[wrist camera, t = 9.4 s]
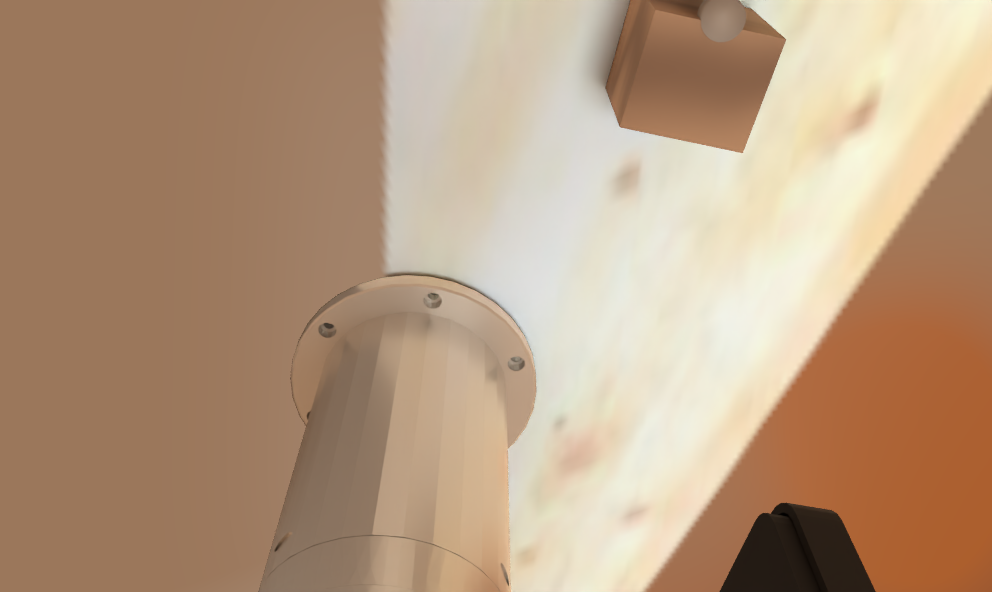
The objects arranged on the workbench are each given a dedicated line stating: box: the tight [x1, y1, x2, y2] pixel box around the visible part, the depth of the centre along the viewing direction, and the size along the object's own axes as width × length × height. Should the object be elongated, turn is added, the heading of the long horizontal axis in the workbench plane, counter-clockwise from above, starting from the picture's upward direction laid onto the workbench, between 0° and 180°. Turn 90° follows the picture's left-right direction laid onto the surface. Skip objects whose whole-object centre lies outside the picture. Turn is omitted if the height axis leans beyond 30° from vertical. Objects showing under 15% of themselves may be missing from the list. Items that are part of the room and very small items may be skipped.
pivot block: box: [606, 0, 786, 153], centre depth 34 cm, size 6×5×5 cm
